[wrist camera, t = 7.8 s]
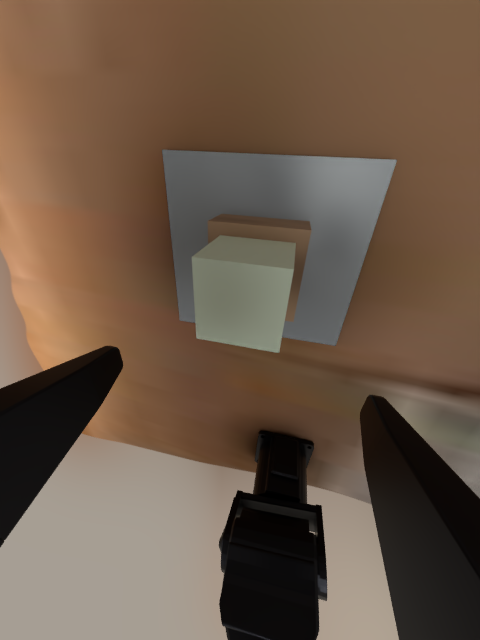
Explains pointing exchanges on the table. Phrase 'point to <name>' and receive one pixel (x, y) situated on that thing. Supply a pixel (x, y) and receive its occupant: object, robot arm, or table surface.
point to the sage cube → (243, 291)
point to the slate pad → (282, 203)
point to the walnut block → (268, 231)
